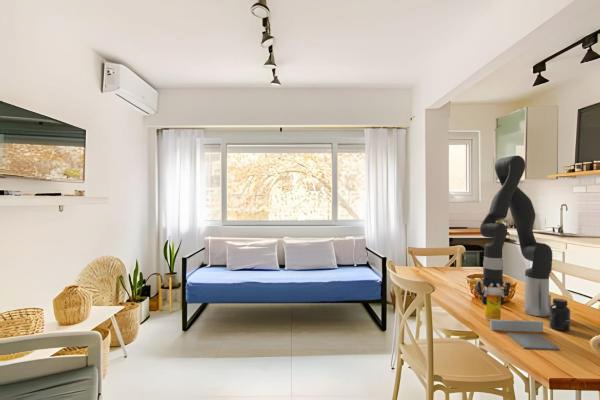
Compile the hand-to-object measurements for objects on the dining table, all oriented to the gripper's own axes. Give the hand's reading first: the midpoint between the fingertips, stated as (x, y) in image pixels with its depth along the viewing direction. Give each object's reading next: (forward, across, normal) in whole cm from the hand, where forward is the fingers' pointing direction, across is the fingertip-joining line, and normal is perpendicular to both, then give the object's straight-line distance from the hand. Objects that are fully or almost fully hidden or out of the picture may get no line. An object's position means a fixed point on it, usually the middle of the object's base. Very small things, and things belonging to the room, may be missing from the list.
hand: (492, 304), depth 152 cm
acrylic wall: (+7, -4, +12) cm, 14 cm away
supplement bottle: (+7, -23, +8) cm, 25 cm away
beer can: (+7, 0, 0) cm, 7 cm away
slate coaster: (+7, -4, +23) cm, 24 cm away
